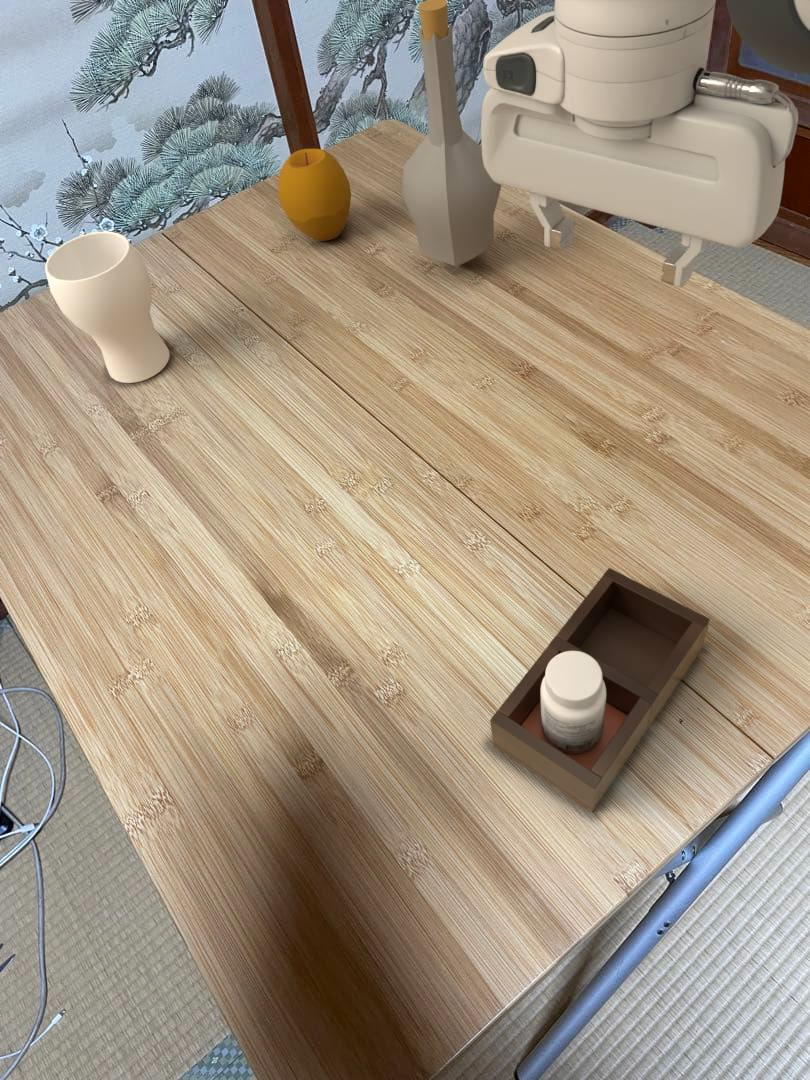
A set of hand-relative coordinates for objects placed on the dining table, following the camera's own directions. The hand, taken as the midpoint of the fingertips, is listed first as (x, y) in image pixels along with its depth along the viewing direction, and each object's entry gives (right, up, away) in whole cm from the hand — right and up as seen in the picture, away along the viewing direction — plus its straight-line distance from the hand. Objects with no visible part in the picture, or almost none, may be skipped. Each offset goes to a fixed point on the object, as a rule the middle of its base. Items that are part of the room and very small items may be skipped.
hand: (615, 262), depth 60 cm
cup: (-48, +2, +43) cm, 64 cm away
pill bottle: (-2, -35, +5) cm, 35 cm away
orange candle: (-26, +22, +55) cm, 65 cm away
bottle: (-8, +15, +47) cm, 50 cm away
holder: (+1, -33, +7) cm, 34 cm away
